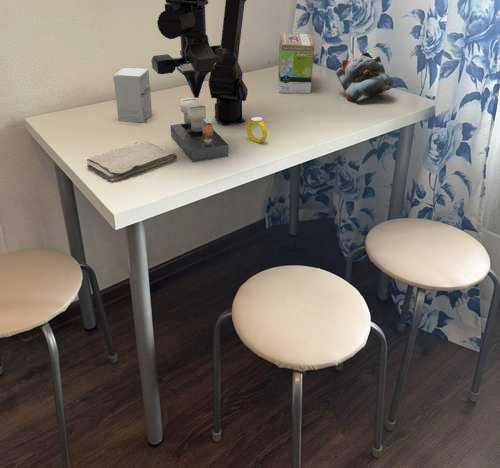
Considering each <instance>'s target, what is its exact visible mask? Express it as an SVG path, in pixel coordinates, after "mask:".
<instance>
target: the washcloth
mask: <svg viewBox="0 0 500 468" xmlns="http://www.w3.org/2000/svg"><path fill="white" fill-rule="evenodd" d="M177 159H178V155H177V153H175V152H173V151H170V150H168V149H166V148H162V147H160V146H159V145H157V144H155V143H153V142H151V141H148V140H143V141H141V142H137V143H134V144H131V145H125V146H122V147H120V148H116V149H114V150H113V149H112V150H111V151H107V152H104V153H101V154H97V155H95V156H91V157H89V158H87V159H86V165H87V168H90V171H92V172H93V173H95V174H97V175H98V176H101V177H102V178H104V179H105V180H107V181H109V182H111V183H113V182H120V181H124V180H127V179H131V178H133V177H135V176H139V175H142V174H144V173H146V172H149V171H152V170H155V169H157V168H160V167H163V166H166V165H169V164H173V163H174V162H175V161H176V160H177Z"/></svg>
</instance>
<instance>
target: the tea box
mask: <svg viewBox="0 0 500 468" xmlns="http://www.w3.org/2000/svg"><path fill="white" fill-rule="evenodd" d="M314 54H315V43H314V40H313V38H312V35H311V34H310V33H280V35H279V48H278V70H277V71H278V76H277V77H278V80H277V81H278V91H279V93H281V94H282V93H283V94H286V93H287V94H311V92H312V81H313V79H312V78H313V70H314V69H313V67H314V56H315V55H314Z"/></svg>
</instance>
